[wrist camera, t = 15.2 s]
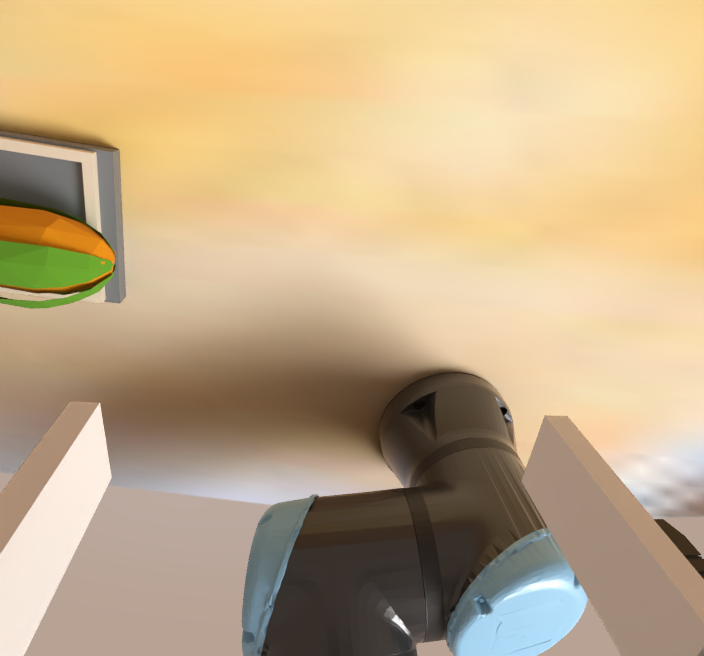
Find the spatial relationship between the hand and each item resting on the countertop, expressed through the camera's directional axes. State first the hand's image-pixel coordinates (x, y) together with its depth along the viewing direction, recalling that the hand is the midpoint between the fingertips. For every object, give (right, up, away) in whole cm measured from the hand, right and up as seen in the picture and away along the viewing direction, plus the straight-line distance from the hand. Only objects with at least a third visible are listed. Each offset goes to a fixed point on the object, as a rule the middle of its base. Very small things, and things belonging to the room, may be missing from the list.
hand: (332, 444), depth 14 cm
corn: (-28, +11, +23) cm, 38 cm away
